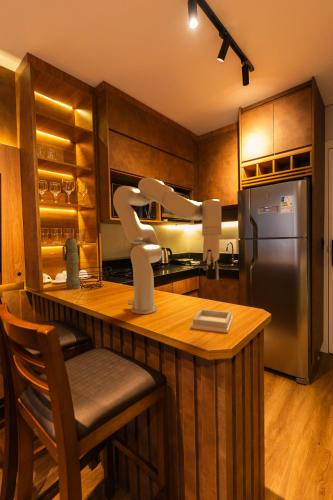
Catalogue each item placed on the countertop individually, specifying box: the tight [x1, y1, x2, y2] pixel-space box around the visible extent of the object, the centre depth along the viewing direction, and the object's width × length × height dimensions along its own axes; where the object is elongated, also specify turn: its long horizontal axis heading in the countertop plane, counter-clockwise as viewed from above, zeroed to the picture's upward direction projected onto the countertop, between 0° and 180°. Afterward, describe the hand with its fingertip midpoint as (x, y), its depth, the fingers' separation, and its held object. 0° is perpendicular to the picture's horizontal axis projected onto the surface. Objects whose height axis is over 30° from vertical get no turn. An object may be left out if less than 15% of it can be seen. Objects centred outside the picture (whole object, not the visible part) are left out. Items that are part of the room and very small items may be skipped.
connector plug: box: [202, 263, 220, 282], centre depth 95 cm, size 6×4×6 cm
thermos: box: [61, 237, 81, 290], centre depth 167 cm, size 9×12×35 cm
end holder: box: [190, 308, 234, 333], centre depth 96 cm, size 14×16×3 cm
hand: (212, 277), depth 95 cm, fingers closed on connector plug, 4 cm apart
